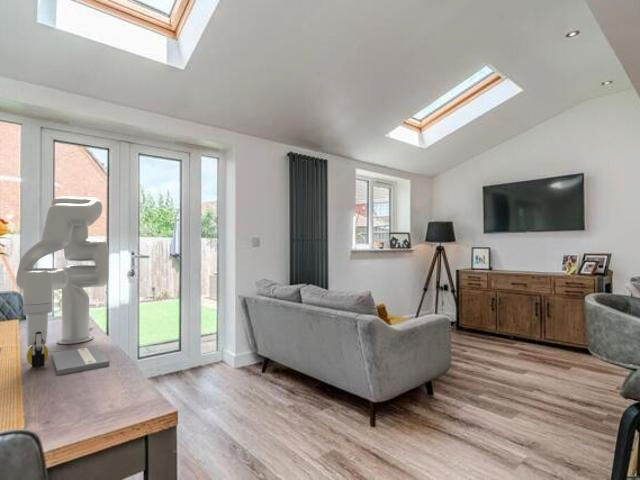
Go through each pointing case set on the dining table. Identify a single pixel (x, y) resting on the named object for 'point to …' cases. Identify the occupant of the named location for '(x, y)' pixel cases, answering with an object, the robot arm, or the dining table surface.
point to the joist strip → (86, 356)
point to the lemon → (30, 352)
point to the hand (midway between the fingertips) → (37, 363)
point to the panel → (77, 360)
